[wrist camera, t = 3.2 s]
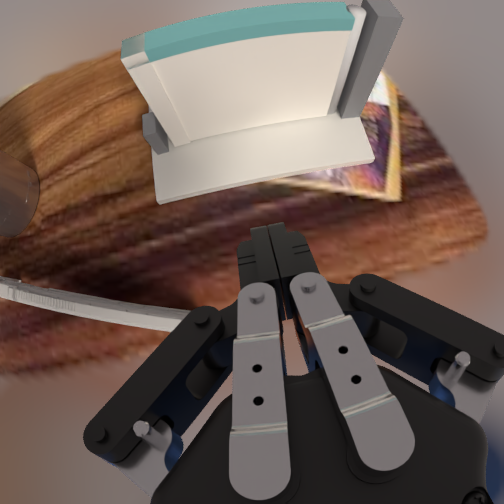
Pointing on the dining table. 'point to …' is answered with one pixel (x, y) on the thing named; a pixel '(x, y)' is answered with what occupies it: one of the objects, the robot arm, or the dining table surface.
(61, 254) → the dining table surface
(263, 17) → the gate panel
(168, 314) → the grey flat strip
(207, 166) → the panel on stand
